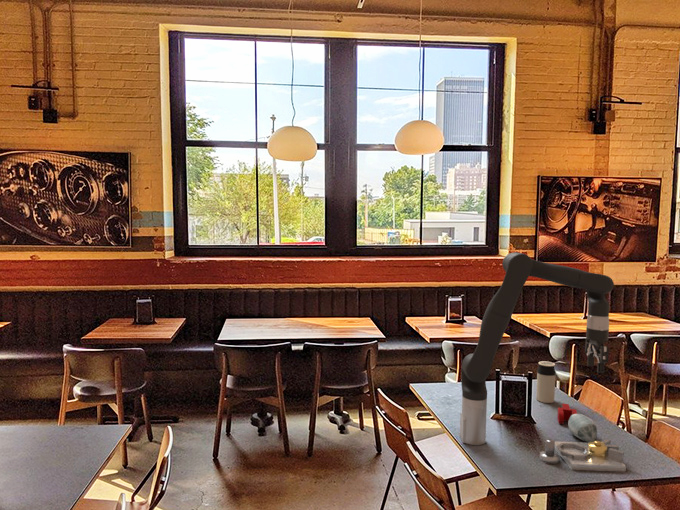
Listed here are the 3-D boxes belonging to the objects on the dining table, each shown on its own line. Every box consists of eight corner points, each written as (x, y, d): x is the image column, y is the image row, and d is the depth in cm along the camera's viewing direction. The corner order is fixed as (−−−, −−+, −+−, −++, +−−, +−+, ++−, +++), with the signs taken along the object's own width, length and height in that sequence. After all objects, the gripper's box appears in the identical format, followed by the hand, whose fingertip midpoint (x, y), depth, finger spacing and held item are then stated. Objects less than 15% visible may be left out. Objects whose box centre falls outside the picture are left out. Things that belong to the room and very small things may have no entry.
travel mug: (557, 403, 240) (558, 365, 239) (539, 403, 240) (541, 365, 239) (550, 397, 248) (551, 361, 247) (533, 397, 248) (535, 360, 247)
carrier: (568, 469, 176) (568, 451, 175) (549, 446, 194) (549, 430, 193) (629, 471, 175) (630, 454, 174) (605, 448, 193) (606, 432, 192)
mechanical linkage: (577, 428, 212) (578, 416, 212) (558, 425, 214) (559, 413, 214) (573, 414, 227) (574, 403, 227) (556, 412, 230) (556, 401, 229)
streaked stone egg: (606, 437, 195) (592, 412, 197) (582, 447, 195) (569, 422, 198) (595, 432, 208) (582, 408, 210) (573, 441, 208) (560, 418, 211)
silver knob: (543, 463, 180) (544, 444, 179) (537, 455, 186) (538, 436, 186) (562, 464, 180) (562, 445, 179) (555, 456, 186) (556, 437, 186)
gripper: (579, 323, 200) (577, 363, 201) (595, 330, 186) (593, 374, 187) (599, 323, 200) (597, 364, 201) (617, 331, 186) (614, 375, 187)
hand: (595, 369), depth 194 cm, fingers open, 8 cm apart
